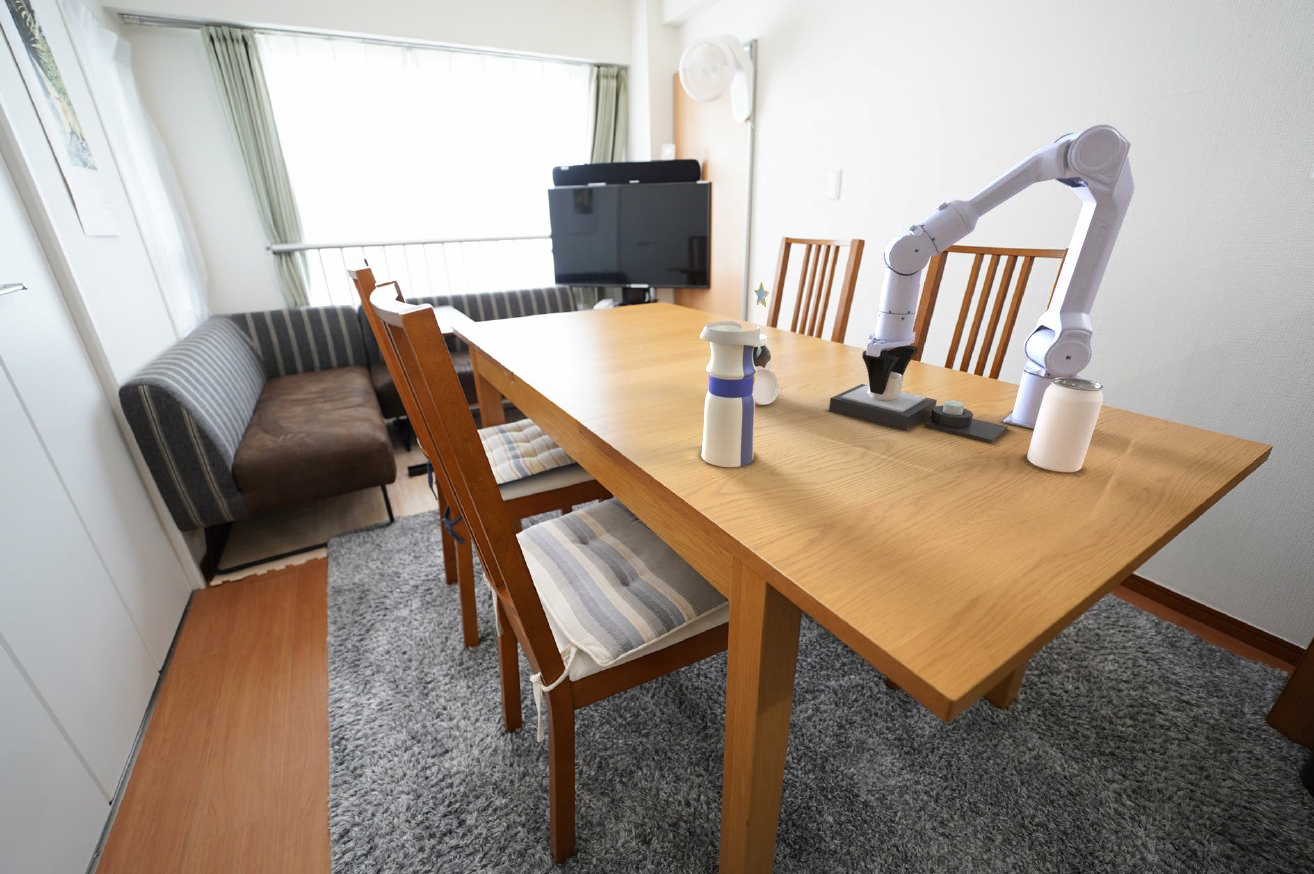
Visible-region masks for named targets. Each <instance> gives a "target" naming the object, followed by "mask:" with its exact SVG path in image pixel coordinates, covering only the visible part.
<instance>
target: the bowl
mask: <svg viewBox="0 0 1314 874" xmlns="http://www.w3.org/2000/svg"><path fill="white" fill-rule="evenodd" d="M903 383H904V375H901V374H899V373H896V372H891V373H890V375H889V379H888V382H887V386H886V389H885V391H884V393H883V394H882V395H880V394H876V393H872V392H870V385H869V384H868V385H869V386H868V394H869V396H870V397H871V398H873V399H877V400H882V401H893V400H896V399H897V398H898V397H900V394H901V392H902V388H903Z"/></svg>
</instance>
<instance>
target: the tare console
mask: <svg viewBox="0 0 1314 874" xmlns="http://www.w3.org/2000/svg"><path fill="white" fill-rule="evenodd" d="M943 406H944V404H942V405H936V407H934V408H933V409H932V414H931V416H930V419H931V420H929V421H928V422H926V423H925V426H924V427H925V428H928V429H932V430H936V431H941V432H944V433H948V434H952V435H956V436H960V437H964V438H969V439H973V440H976V441H980V442H984V443H989V444H992V443H994V442H995V441H996V440H997V439H999V437H1000V436H1002V435H1003V434H1004V433H1005V432H1006V431H1007V430H1008V426H1007V425H1003V424H999V423H994V422H990V421H985V420H981V419H977V418H974V413H973V412H972V411H971V410H969V409H967V408H965V407H964V409H963V414H962V415H951V414H947V413H944V412H942V411H943Z"/></svg>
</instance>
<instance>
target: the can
mask: <svg viewBox="0 0 1314 874" xmlns="http://www.w3.org/2000/svg"><path fill="white" fill-rule="evenodd" d="M1103 389H1104V385H1103V384H1101V383H1099V382H1096V381H1093V380H1092V381H1089V380H1084V379H1077V378H1054V379H1052V383H1051V384H1050V386H1049V387H1048V388H1047V389H1046V390H1045V393H1044V396H1043V400H1042V403H1041V407H1040V410H1039V414H1038V418H1037V421H1036V425H1035V428H1034V429H1033V433H1032V436H1031V439H1030V444H1029V448H1028V451H1027V454H1026V458H1027V460H1028V461H1029V463H1031V464H1032V465H1033V466H1035V467H1037V468H1040V469H1042V470H1046V471H1049V472H1053V473H1054V472H1055V473H1060V474H1061V473H1062V474H1073V473H1077V472H1078V471H1080V470H1082V467H1083V465H1084V463H1085V459H1086V456H1087V453H1088V450H1089V447H1090V443H1091V440H1092V437H1093V436H1094V435H1093V434H1094V432H1095V428H1096V425H1097V422H1098V419H1099V416H1100V413H1101V409H1102V406H1103V403H1104V393H1103Z"/></svg>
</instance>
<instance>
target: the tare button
mask: <svg viewBox="0 0 1314 874" xmlns="http://www.w3.org/2000/svg"><path fill="white" fill-rule="evenodd" d="M943 405H944V406H943V411H942V412H944V413H947V414H951V415H962V414H963V409H964V408H965V403H964V402H961V401H958V400H952V399H951V400H949V399H948V400H945V401H943Z"/></svg>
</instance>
